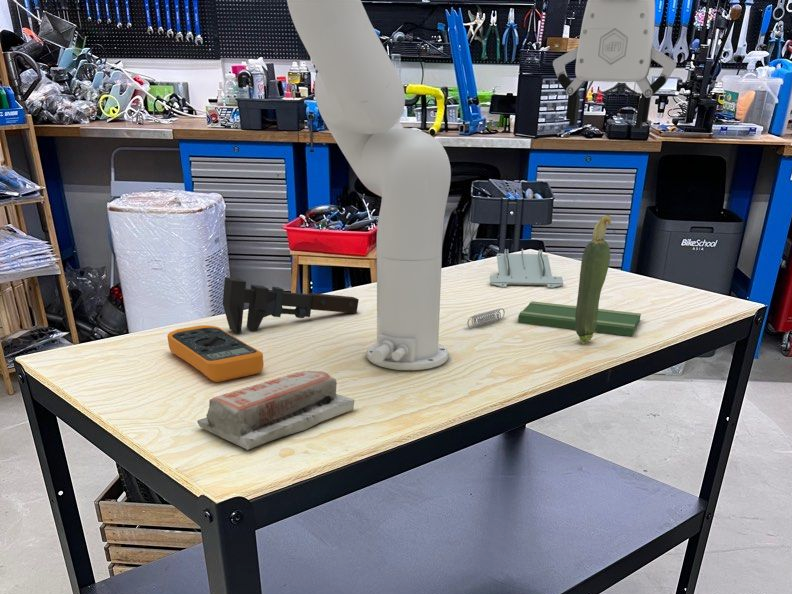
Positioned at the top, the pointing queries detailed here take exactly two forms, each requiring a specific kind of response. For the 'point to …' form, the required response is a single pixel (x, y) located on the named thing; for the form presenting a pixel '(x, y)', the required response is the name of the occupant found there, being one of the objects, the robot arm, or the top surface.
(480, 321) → the spring
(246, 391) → the packaged product
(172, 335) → the multimeter
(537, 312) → the green rectangular slab
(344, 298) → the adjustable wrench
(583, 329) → the vegetable
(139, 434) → the top surface
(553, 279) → the metal bracket
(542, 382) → the top surface
